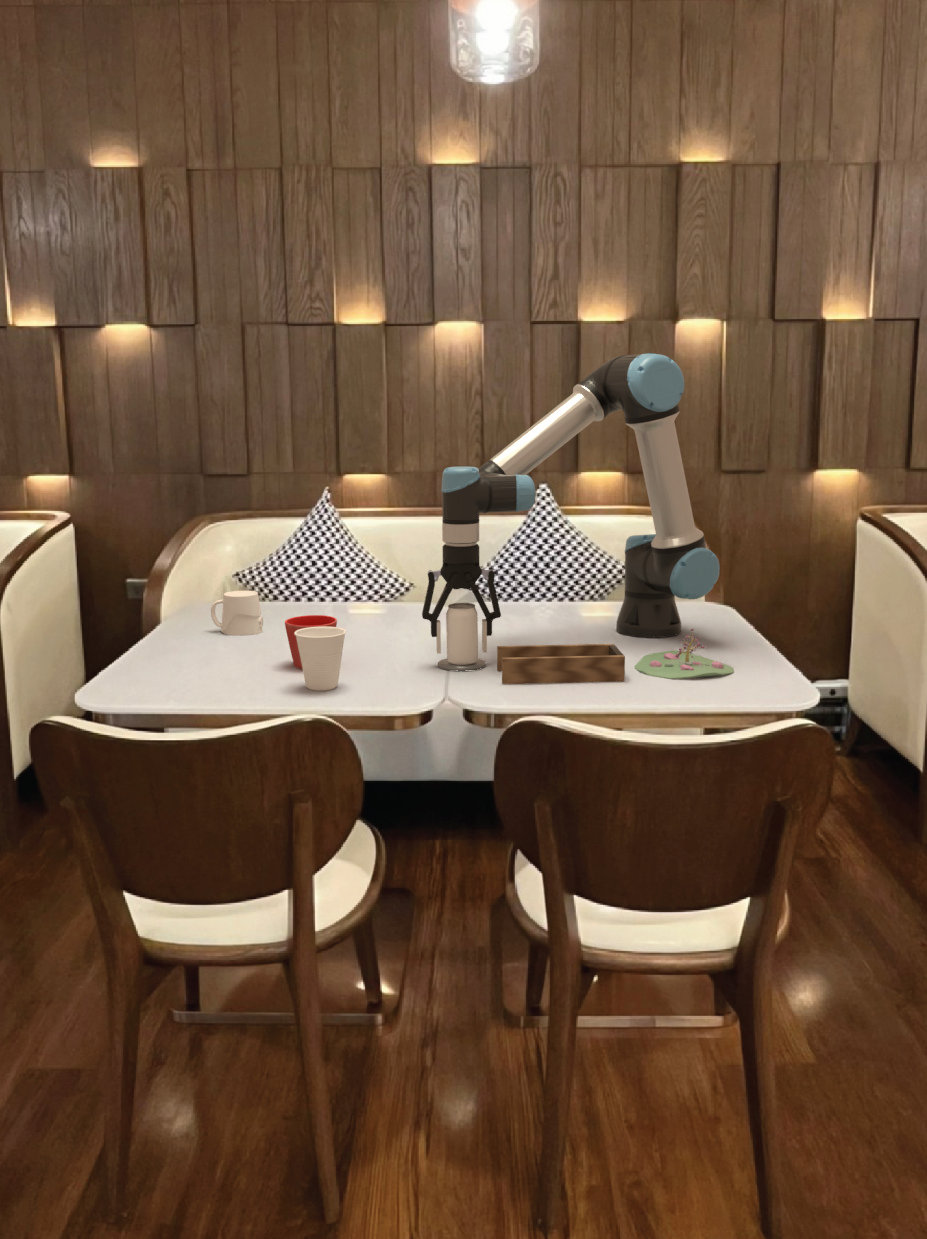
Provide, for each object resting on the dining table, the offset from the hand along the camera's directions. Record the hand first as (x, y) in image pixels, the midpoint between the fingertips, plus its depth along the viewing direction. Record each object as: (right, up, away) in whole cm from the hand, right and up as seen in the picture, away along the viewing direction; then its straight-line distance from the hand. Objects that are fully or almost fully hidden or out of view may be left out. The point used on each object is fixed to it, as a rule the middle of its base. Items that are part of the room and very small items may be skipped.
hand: (461, 651), depth 238 cm
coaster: (0, -3, +1) cm, 3 cm away
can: (0, -2, +1) cm, 3 cm away
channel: (+20, -5, -8) cm, 22 cm away
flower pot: (-31, -3, +2) cm, 31 cm away
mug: (-53, +3, +35) cm, 64 cm away
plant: (+45, -4, 0) cm, 45 cm away
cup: (-27, -7, -16) cm, 32 cm away
